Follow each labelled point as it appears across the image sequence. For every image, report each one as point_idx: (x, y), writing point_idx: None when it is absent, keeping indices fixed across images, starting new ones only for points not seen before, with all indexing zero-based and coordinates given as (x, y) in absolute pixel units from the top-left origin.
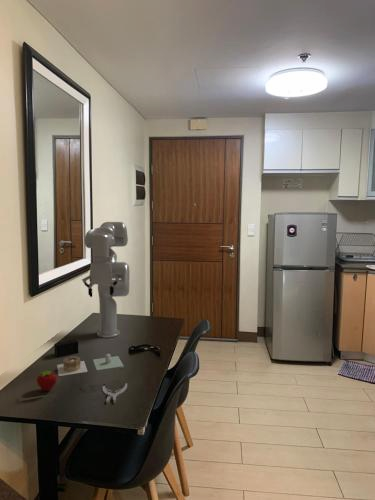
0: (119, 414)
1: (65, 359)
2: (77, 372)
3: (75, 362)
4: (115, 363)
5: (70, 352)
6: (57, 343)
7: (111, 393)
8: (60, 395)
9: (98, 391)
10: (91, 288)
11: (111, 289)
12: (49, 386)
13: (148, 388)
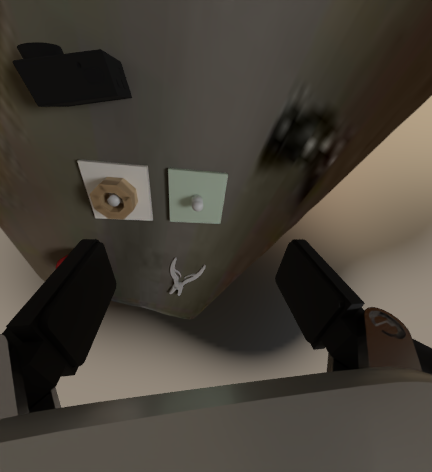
0: (179, 306)
1: (95, 196)
2: (132, 217)
3: (122, 218)
4: (209, 208)
5: (102, 100)
6: (28, 70)
7: (178, 285)
8: (110, 264)
9: (164, 269)
10: (66, 365)
11: (301, 325)
12: None
13: (225, 280)
